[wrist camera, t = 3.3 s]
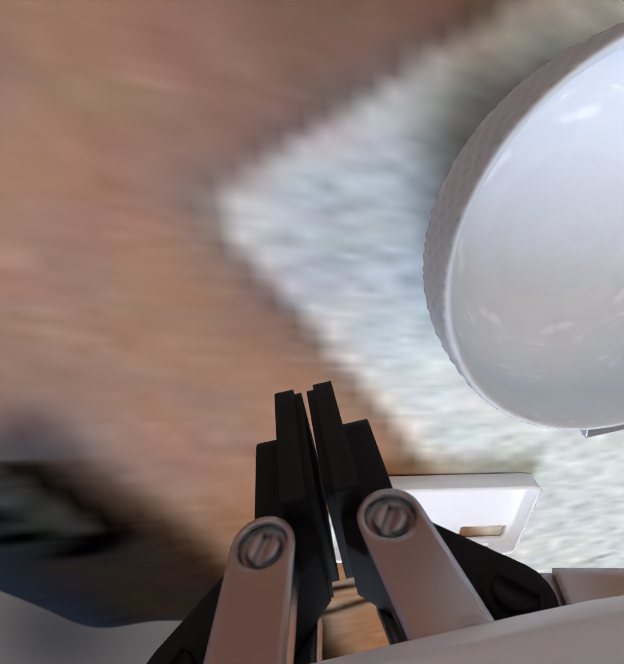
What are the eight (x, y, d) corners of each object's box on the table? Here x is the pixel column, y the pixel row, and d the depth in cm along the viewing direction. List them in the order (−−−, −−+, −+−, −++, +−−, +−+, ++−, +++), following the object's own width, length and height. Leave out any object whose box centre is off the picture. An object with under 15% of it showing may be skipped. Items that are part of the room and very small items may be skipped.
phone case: (533, 471, 31) (333, 476, 29) (545, 486, 29) (336, 492, 27) (506, 539, 34) (324, 547, 32) (515, 554, 33) (326, 564, 31)
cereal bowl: (362, 348, 24) (397, 425, 18) (444, -2, 17) (548, -75, 11) (612, 370, 27) (718, 444, 21) (772, 76, 20) (1006, 54, 14)
